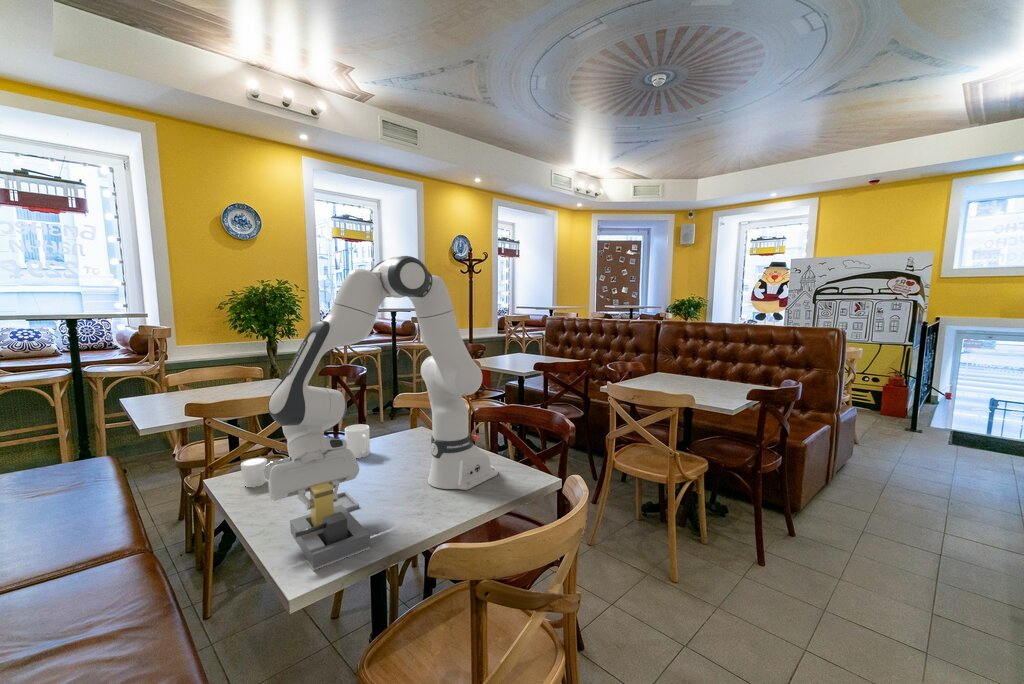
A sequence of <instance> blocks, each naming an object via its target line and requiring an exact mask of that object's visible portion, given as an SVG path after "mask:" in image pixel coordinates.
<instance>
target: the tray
mask: <svg viewBox="0 0 1024 684" xmlns="http://www.w3.org/2000/svg"><path fill="white" fill-rule="evenodd" d="M337 495H338V501H336V502H334V507H335V506H338V505H343V507H344V508H345V509H346V510H347V511H348V512H350V511H353V510H357V509H359V508H360V504H359V503H358V502H357V500H355V498H354V497H352V496H351V495H350V494H349V493H348V492H347V491H346V490H344V491H341V492H337Z"/></svg>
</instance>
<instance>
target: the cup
mask: <svg viewBox="0 0 1024 684" xmlns="http://www.w3.org/2000/svg"><path fill="white" fill-rule="evenodd" d="M370 439H371V438H370V426H369V425H368V424H363V423H362V424H361V423H359V424H352V425H348V426H346V427H345V428H344V440H346V441H347V449H349V450H351V451H352V453H353V454H354V456H355V458H359V459H362V458H361V457H363V458H365V456H366V457H368V456H369V455H370V451H371V450H370V447H371V445H370V443H371V442H370V441H371V440H370ZM367 455H368V456H367Z"/></svg>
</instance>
